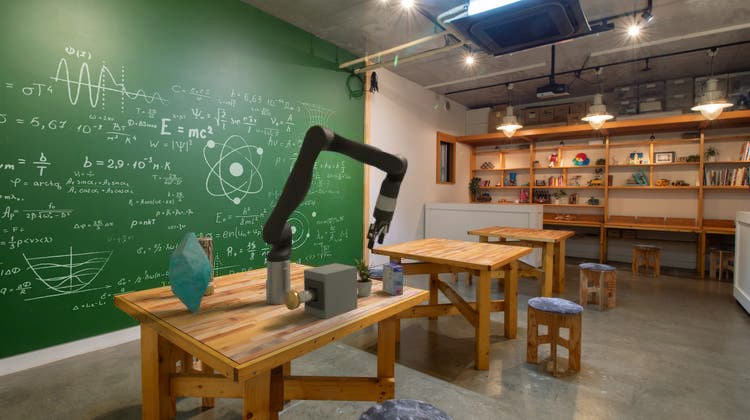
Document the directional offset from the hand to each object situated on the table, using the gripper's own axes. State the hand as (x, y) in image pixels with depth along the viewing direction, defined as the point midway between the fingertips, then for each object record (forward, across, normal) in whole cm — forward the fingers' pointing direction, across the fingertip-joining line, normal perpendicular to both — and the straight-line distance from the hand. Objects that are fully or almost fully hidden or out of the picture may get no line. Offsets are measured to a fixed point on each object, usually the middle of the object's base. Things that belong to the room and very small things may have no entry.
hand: (374, 246), depth 142 cm
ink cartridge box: (+25, -20, +6) cm, 33 cm away
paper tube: (+46, +18, -65) cm, 82 cm away
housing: (+26, +12, -6) cm, 29 cm away
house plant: (+28, -11, -5) cm, 31 cm away
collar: (+23, +20, -9) cm, 32 cm away
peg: (+21, +23, -10) cm, 33 cm away
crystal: (+39, +36, -51) cm, 74 cm away
